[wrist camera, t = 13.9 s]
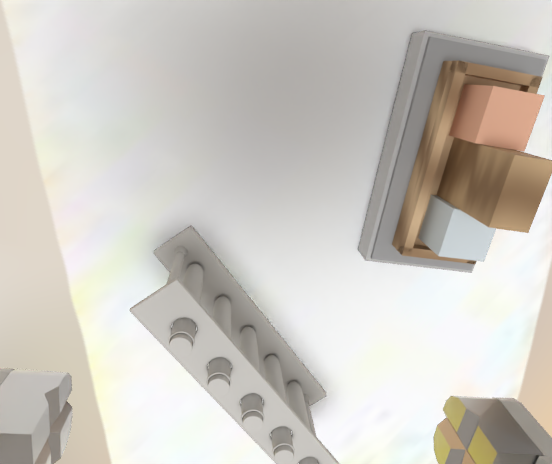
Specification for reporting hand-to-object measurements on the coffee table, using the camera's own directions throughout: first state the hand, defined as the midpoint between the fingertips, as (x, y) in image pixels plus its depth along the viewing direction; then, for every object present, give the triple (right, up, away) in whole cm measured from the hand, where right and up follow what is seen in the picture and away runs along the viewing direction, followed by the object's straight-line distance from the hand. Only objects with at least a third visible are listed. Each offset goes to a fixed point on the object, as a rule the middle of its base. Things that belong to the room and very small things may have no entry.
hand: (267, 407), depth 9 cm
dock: (+15, +11, +31) cm, 36 cm away
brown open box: (+16, +10, +28) cm, 33 cm away
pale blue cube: (+15, +5, +28) cm, 32 cm away
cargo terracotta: (+17, +13, +25) cm, 33 cm away
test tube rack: (-3, -6, +36) cm, 36 cm away
